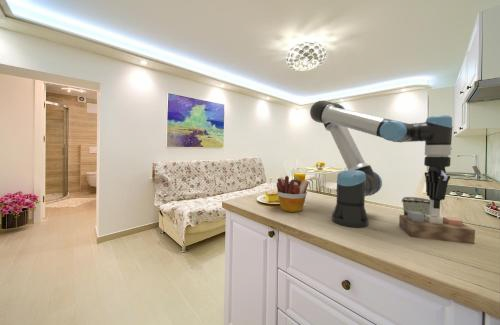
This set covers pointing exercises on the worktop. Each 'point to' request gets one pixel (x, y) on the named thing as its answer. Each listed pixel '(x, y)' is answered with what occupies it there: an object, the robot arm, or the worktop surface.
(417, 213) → the slate key
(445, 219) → the terracotta key
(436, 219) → the ivory key
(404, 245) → the worktop surface
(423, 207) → the food container
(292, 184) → the bucket of meat
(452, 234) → the brown wooden tray
